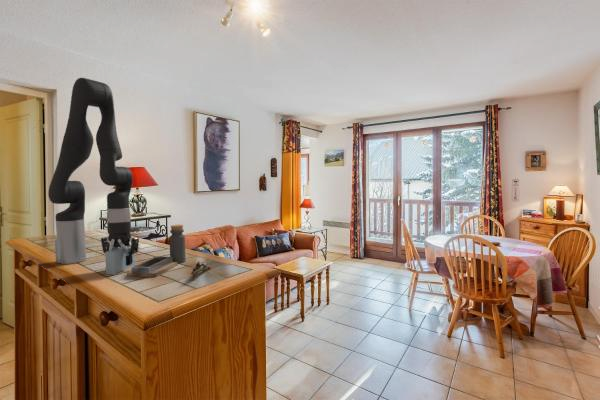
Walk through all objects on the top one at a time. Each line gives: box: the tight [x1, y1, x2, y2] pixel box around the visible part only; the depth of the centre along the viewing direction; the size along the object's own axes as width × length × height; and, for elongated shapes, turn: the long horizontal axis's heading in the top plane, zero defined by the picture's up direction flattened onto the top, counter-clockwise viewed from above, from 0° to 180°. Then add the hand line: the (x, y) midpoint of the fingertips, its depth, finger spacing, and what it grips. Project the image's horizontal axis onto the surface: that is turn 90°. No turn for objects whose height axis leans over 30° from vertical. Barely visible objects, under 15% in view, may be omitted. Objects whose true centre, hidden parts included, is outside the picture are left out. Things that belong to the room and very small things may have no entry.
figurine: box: [190, 261, 211, 282], centre depth 105 cm, size 6×4×15 cm
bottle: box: [169, 224, 187, 265], centre depth 122 cm, size 6×6×15 cm
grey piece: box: [126, 255, 178, 278], centre depth 111 cm, size 11×15×3 cm
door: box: [104, 246, 136, 275], centre depth 112 cm, size 3×11×8 cm, turn 173°
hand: (121, 264), depth 112 cm, fingers open, 5 cm apart
